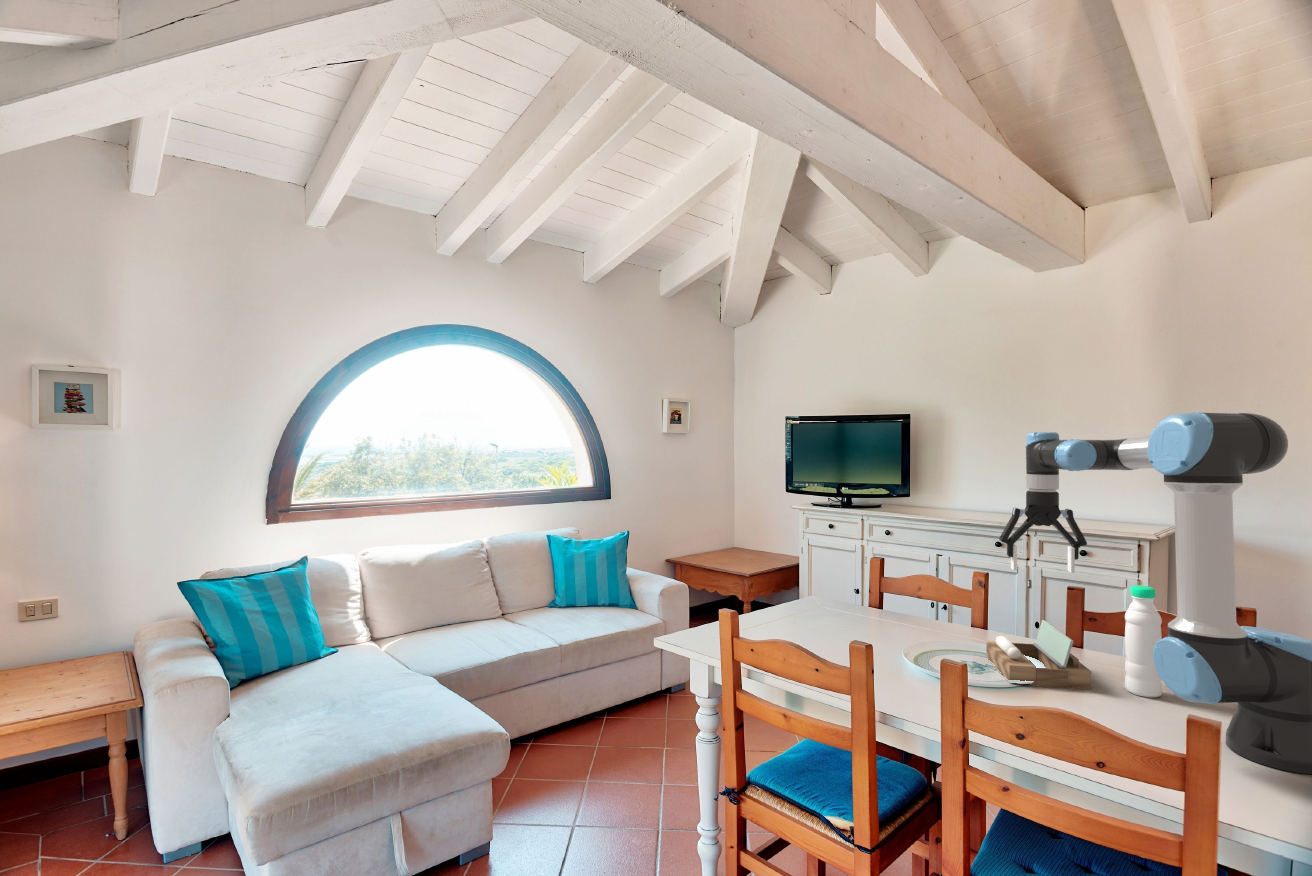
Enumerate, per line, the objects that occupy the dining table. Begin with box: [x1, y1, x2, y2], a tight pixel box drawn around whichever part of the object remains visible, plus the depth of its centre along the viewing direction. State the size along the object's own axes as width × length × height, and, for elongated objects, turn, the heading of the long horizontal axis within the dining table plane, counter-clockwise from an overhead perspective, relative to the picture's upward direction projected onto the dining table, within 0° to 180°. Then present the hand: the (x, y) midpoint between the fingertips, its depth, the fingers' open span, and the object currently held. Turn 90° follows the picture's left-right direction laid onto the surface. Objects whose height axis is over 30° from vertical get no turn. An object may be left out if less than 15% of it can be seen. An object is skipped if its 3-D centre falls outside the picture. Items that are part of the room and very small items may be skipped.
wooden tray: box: [985, 640, 1092, 690], centre depth 171 cm, size 21×18×6 cm
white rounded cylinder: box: [995, 635, 1021, 660], centre depth 172 cm, size 13×3×3 cm, turn 168°
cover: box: [1032, 619, 1074, 669], centre depth 170 cm, size 19×8×1 cm
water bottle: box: [1124, 585, 1163, 699], centre depth 157 cm, size 7×7×25 cm
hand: (1042, 570), depth 176 cm, fingers open, 13 cm apart
